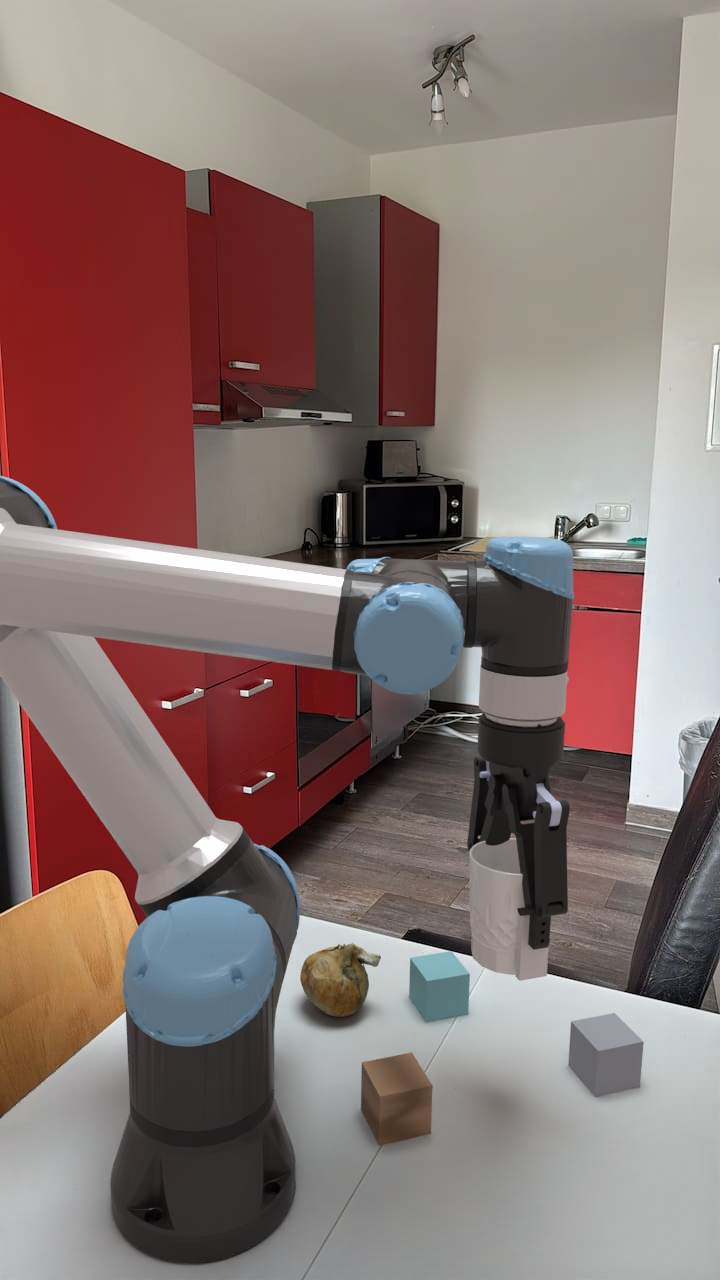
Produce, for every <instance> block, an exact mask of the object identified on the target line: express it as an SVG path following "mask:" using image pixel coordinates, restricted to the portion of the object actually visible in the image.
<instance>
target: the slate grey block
mask: <svg viewBox="0 0 720 1280" xmlns="http://www.w3.org/2000/svg"><path fill="white" fill-rule="evenodd" d="M569 1032H570V1033H569V1034H570V1035H569V1046H568V1047H569V1048H568V1049H569V1051H568V1067H569V1068H570V1069H571V1071H572V1072H573V1073H574V1074H575V1075H576V1076H577V1078H578V1079H579V1080H580V1081H581V1082H582V1083H583V1084H584V1085H585V1087H586V1089H588V1090H589V1092H590V1093H591V1094H592V1095H593V1096H594V1097H595V1098H597V1097H601V1096H605V1095H610V1094H615V1093H619V1092H623V1091H628V1090H632V1089H633V1090H634V1089H637V1088H640V1087H641V1076H642V1069H643V1068H642V1066H643V1055H644V1042H645V1041H644V1040H643V1039H642V1038H641V1037H640V1036H639V1035H637V1033H635V1031H634V1030H633V1029H632V1028H631V1027H629V1026H628V1025H627V1023H625V1022H624V1021H623V1020H622V1018H620V1017H619V1016H618V1015H617V1014H616V1013H615V1012H613V1013H607V1014H606V1013H605V1014H602V1015H597V1016H592V1017H591V1016H590V1017H587V1018H582V1019H577V1020H572V1021H570V1031H569Z"/></svg>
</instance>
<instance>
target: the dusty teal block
mask: <svg viewBox="0 0 720 1280" xmlns="http://www.w3.org/2000/svg"><path fill="white" fill-rule="evenodd" d="M470 977H471V974H470V972H469V971H468V970H467V968H466V967H465V966H464V964H462V962H461V961H460V960H459V959H458V957H457V956H456V955H455V954H454V953H453V951H452V950H451V951H450V950H449V951H444V952H437V953H430V954H426V955H425V954H423V955H420V956H419V955H418V956H413V957H412V956H411V957H409V985H408V986H409V989H408V991H409V992H408V993H409V994H408V998H409V1000H410V1001H411V1003H412V1004H413V1006H414V1007H415V1009H416V1011H418V1013H419V1015H420V1016H421V1017H422V1019H423V1020H424V1022H425V1023H431V1022H436V1021H437V1022H438V1021H442V1020H448V1019H453V1018H457V1017H463V1016H468V1015H469V1007H470V1006H469V1005H470V1004H469V1003H470V1002H469V1001H470Z"/></svg>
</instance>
